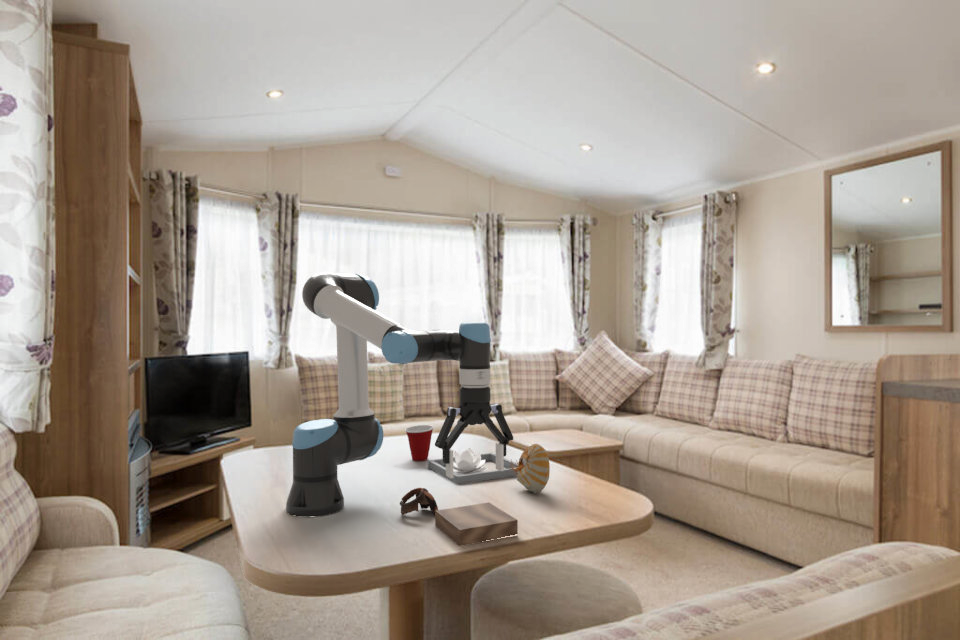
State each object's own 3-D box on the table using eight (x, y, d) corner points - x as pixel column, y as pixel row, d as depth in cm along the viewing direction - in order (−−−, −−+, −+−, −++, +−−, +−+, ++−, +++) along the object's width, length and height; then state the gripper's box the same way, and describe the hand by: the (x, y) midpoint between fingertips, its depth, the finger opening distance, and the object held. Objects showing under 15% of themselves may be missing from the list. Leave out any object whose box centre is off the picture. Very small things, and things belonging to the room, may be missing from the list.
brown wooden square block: (459, 552, 133) (459, 529, 133) (435, 530, 146) (435, 510, 146) (517, 541, 139) (517, 519, 139) (489, 521, 153) (489, 502, 153)
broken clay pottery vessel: (440, 523, 151) (425, 496, 149) (408, 537, 152) (392, 512, 150) (444, 498, 162) (429, 474, 161) (414, 512, 164) (399, 488, 162)
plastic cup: (400, 457, 222) (400, 426, 222) (427, 454, 227) (427, 423, 227) (410, 464, 212) (410, 430, 212) (438, 460, 217) (438, 428, 217)
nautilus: (523, 480, 191) (523, 433, 191) (559, 498, 171) (558, 446, 171) (501, 482, 187) (501, 435, 187) (535, 501, 168) (535, 449, 168)
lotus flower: (435, 475, 197) (435, 449, 197) (465, 467, 208) (465, 442, 208) (466, 483, 187) (466, 456, 187) (496, 473, 199) (496, 448, 199)
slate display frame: (457, 484, 186) (457, 476, 186) (428, 467, 207) (428, 460, 207) (526, 474, 197) (526, 467, 197) (491, 459, 219) (491, 452, 219)
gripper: (433, 390, 134) (433, 483, 134) (526, 384, 145) (527, 470, 145) (421, 387, 140) (421, 476, 140) (511, 381, 152) (511, 464, 152)
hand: (475, 473), depth 143 cm, fingers open, 13 cm apart
